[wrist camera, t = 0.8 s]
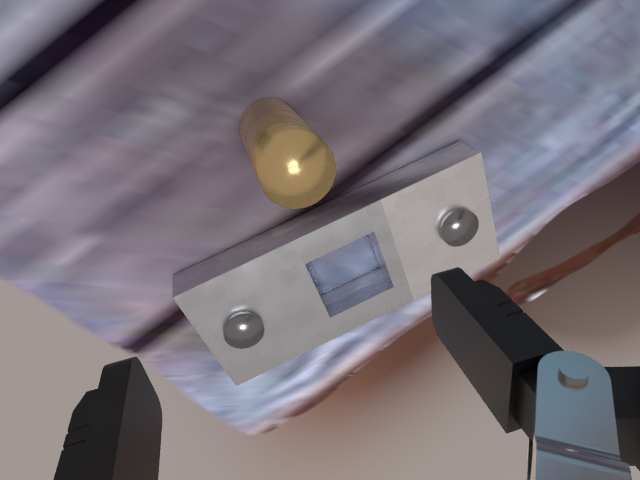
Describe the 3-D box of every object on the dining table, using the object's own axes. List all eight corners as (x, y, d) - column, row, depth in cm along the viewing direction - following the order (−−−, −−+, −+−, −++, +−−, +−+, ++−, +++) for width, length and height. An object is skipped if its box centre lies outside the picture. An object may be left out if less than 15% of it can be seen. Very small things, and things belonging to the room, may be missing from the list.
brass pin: (284, 87, 30) (320, 120, 22) (306, 142, 32) (346, 188, 24) (229, 113, 30) (245, 154, 22) (254, 166, 32) (277, 220, 24)
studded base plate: (459, 140, 35) (486, 154, 32) (480, 241, 40) (504, 262, 37) (173, 274, 34) (172, 302, 31) (232, 360, 39) (237, 391, 36)
